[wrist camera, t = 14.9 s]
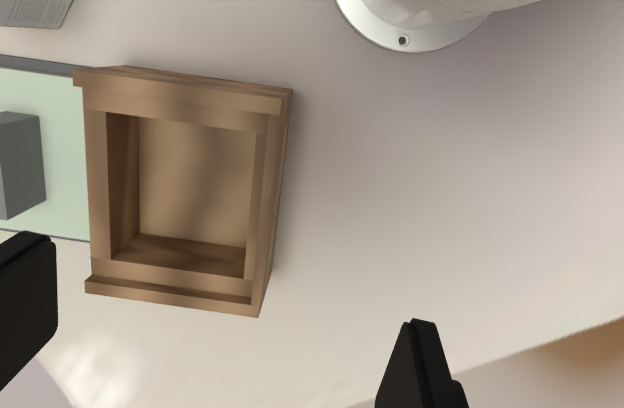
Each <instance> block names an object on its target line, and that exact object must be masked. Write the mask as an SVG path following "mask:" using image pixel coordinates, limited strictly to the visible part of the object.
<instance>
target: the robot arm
mask: <svg viewBox="0 0 624 408" xmlns="http://www.w3.org/2000/svg"><path fill="white" fill-rule="evenodd" d="M537 1H539V0H335V3H336V5H337V7H338V9H339V10H340V12H341V13H342V15H343V17H344V18H345V20H346V21H347V22H348V23H349V24H350V25H351V27H352V28H353V29H354V30H355V31H356V32H357V33H358V34H359V35H361V36H362V37H364V38H365V39H367V40H368V41H370V42H371V43H373V44H375V45H377V46H380V47H382V48H385V49H387V50H392V51H396V52H402V53H421V52H430V51H434V50H437V49H440V48H443V47H446V46H449V45H451V44H453V43H455V42H456V41H458V40H460V39H462V38H464V37H465V36H467V35H468V34H469V33H470V32H472V31H473V30H474V29H476V28H477V27H478V26H479V25H480V24H481V23H482V22H483V21H484V20H485V19H486V18H487V17H488V16H489V15H490V14H491V13H494V12H498V11H503V10H507V9H511V8H516V7H520V6H523V5H527V4H530V3H534V2H537ZM400 37H404V38H405V43H404V44H403V45H401V44H400V43H399V38H400ZM57 327H58V302H57V265H56V245H55V243H53V242H51V239H50V237H49V236H48V235H44V234H40V233H36V232H31V231H27V230H23V231H21V232H19V233H17V234H16V235H14V236H13V237H11V238H9V239H8V240H6V241H4V242H3V243H1V244H0V391H1V390H2V389H3V388H4V387H5V386H6V385H7V384H8V383H9V382H10V381H11V380H12V379H13V378H14V376H16V375H17V374H18V373H19V371H20V370H21V369H22V368H23V367H24V366H25V365H26V364H27V363H28V362H29V361H30V360H31V359H32V358H33V357H34V356H35V355H36V354H37V353H38V352H39V351H40V350H41V349H42V348H43V347H44V345H45V344H46V343H47V342H48V341H49V340H50V339H51V338H52V337H53V336H54V334H55V332H56V330H57ZM375 408H469V406H468V403H467V400H466V396H465V393H464V390H463V388H462V386H461V383H459V382H458V381H456V380H452V378H451V375H450V371H449V368H448V365H447V361H446V358H445V354H444V351H443V348H442V344H441V341H440V337H439V334H438V331H437V327H436V325H435V323H433V322H428V321H424V320H419V319H415V318H413V319H412V320H411V321H410V323H407V322H404V323H403V325H402V327H401V330H400V333H399V335H398V338H397V341H396V344H395V346H394V349H393V352H392V354H391V357H390V360H389V363H388V365H387V368H386V371H385V373H384V376H383V379H382V382H381V384H380V387H379V390H378V393H377V396H376V400H375Z"/></svg>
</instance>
